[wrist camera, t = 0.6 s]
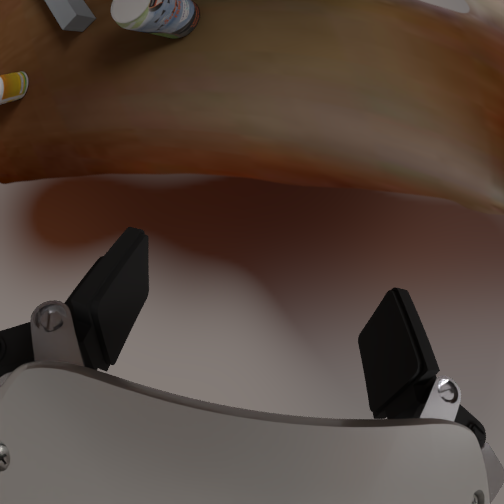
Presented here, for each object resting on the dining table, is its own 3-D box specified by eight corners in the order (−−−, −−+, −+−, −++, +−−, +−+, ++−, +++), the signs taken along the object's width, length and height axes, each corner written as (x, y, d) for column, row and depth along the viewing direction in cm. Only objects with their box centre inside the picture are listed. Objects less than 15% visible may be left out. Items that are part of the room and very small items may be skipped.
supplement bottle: (23, 65, 28) (-16, 72, 20) (32, 85, 31) (-8, 95, 23) (9, 84, 30) (-28, 95, 22) (18, 104, 32) (-20, 117, 24)
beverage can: (203, 35, 28) (172, 17, 18) (151, 45, 29) (104, 36, 19) (202, -4, 25) (171, -34, 15) (150, 7, 25) (104, -13, 15)
